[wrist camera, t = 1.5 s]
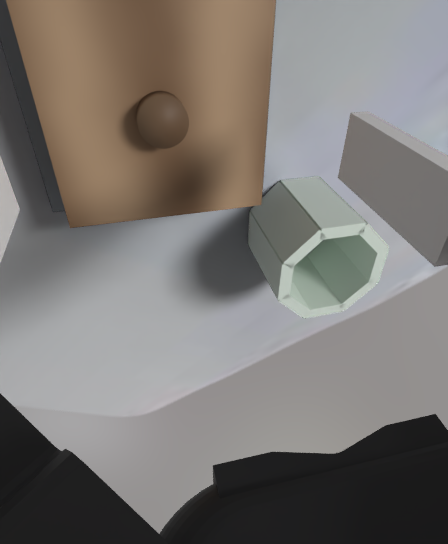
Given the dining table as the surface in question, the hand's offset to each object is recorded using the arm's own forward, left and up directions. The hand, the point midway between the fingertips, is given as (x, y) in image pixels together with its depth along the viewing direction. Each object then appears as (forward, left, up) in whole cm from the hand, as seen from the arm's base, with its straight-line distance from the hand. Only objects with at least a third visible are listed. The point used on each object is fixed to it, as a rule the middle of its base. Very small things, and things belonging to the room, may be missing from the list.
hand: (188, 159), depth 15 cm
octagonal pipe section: (+10, -10, -10) cm, 17 cm away
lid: (0, 0, -10) cm, 10 cm away
